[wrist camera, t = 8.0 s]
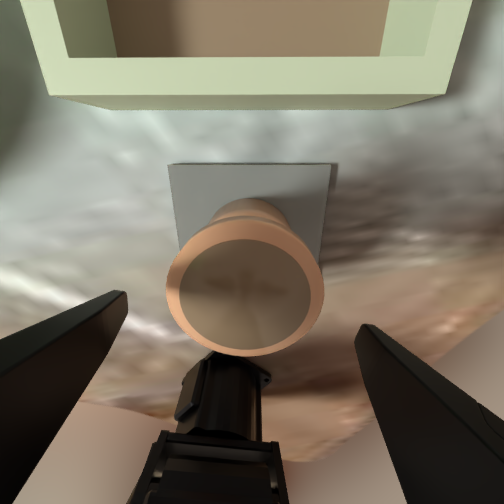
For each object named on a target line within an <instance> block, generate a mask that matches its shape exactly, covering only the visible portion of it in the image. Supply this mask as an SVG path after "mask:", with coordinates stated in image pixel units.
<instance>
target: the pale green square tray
mask: <svg viewBox="0 0 504 504" xmlns="http://www.w3.org/2000/svg"><path fill="white" fill-rule="evenodd" d="M20 2H21V5H22V9H23V12H24V15H25V18H26V22H27V25H28V28H29V31H30V35H31V38H32V41H33V44H34V48H35V51H36V54H37V57H38V61H39V64H40V67H41V70H42V73H43V77H44V80H45V83H46V86H47V90H48V93H49V95H51V96H55V97H59V98H63V99H67V100H71V101H75V102H80V103H84V104H88V105H92V106H96V107H100V108H104V109H109V110H386V109H391V108H395V107H398V106H402V105H406V104H410V103H413V102H417V101H421V100H425V99H428V98H432V97H436V96H440V95H443V94H445V93H446V89H447V86H448V83H449V79H450V76H451V72H452V69H453V65H454V62H455V59H456V55H457V52H458V48H459V45H460V41H461V38H462V35H463V31H464V28H465V24H466V21H467V18H468V14H469V11H470V7H471V4H472V0H20Z"/></svg>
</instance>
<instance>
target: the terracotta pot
mask: <svg viewBox="0 0 504 504" xmlns="http://www.w3.org/2000/svg"><path fill="white" fill-rule="evenodd" d="M166 296H167V302H168V305H169V308H170V311H171V313H172V315H173V317H174V319H175V320H176V322H177V323H178V325H179V326H180V327H181V328H182V329H183V331H184V332H185V333H186V334H188V335H189V336H190V337H191V338H192V339H194V340H195V341H197V342H198V343H200V344H201V345H203V346H205V347H207V348H209V349H212V350H214V351H217V352H220V353H224V354H229V355H235V356H259V355H265V354H270V353H273V352H276V351H279V350H282V349H284V348H286V347H288V346H290V345H292V344H293V343H295V342H296V341H298V340H299V339H300V338H302V337H303V336H304V335H305V334H306V333H307V332H308V331H309V330H310V329H311V328H312V326H313V325H314V323H315V322H316V320H317V318H318V316H319V314H320V312H321V309H322V306H323V301H324V283H323V278H322V274H321V271H320V269H319V267H318V265H317V263H316V261H315V259H314V257H313V255H312V253H311V252H310V250H309V248H308V247H307V245H306V244H305V243H304V241H303V240H302V239H301V238H300V237H299V236H298V235H297V234H296V233H294V232H293V231H292V230H291V228H290V225H289V223H288V221H287V219H286V218H285V216H284V215H283V214H282V213H281V211H280V210H279V209H277V208H276V207H275V206H273V205H272V204H270V203H268V202H266V201H263V200H259V199H254V198H244V199H238V200H234V201H232V202H229V203H227V204H226V205H224V206H222V207H221V208H220V209H219V210H218V211H217V212H216V213H215V214H214V215H213V217H212V218H211V220H210V221H209V223H208V225H206V226H205V227H203V228H201V229H200V230H199V231H197V232H196V233H195V234H194V235H193V236H192V237H191V238H190V239H189V240H188V241H187V242H186V244H185V245H184V247H183V248H182V249H181V251H180V252H179V254H178V255H177V256H176V258H175V259H174V261H173V263H172V265H171V267H170V270H169V273H168V276H167V282H166Z"/></svg>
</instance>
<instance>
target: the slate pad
mask: <svg viewBox="0 0 504 504" xmlns="http://www.w3.org/2000/svg"><path fill="white" fill-rule="evenodd" d="M168 172H169V179H170V185H171V192H172V199H173V206H174V213H175V220H176V227H177V234H178V241H179V248H180V251H181V249H182V248H183V247H184V245H185V244H186V242H187V241H188V240H189V239H190V238H191V237H192V236H193V235H194V234H195V233H196V232H197V231H199V230H200V229H201V228H203V227H205V226H206V225H208V223H209V221H210V220H211V218H212V217H213V215H214V214H215V213H216V212H217V211H218V210H219V209H220V208H221V207H222V206H224V205H226V204H227V203H229V202H232V201H234V200H238V199H244V198H254V199H259V200H263V201H266V202H268V203H270V204H272V205H273V206H275V207H276V208H277V209H279V210H280V211H281V213H282V214H283V215H284V216H285V218H286V219H287V221H288V223H289V225H290V228H291V230H292V231H293V232H294V233H296V234H297V235H298V236H299V237H300V238H301V239H302V240H303V241H304V243H305V244H306V245H307V247H308V248H309V250H310V252H311V253H312V255H313V257H314V259H315V261H316V263H317V265H318V261H319V254H320V246H321V239H322V231H323V224H324V216H325V209H326V202H327V194H328V187H329V179H330V172H331V165H329V164H170V165H168Z"/></svg>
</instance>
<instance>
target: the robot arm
mask: <svg viewBox="0 0 504 504" xmlns="http://www.w3.org/2000/svg"><path fill="white" fill-rule="evenodd" d="M127 314H128V301H127V293H126V292H125V291H119V290H113V291H110V292H108V293H106V294H103V295H101V296H99V297H97V298H94V299H92V300H90V301H87V302H85V303H83V304H80V305H78V306H76V307H74V308H71V309H69V310H67V311H64V312H62V313H60V314H57V315H55V316H53V317H51V318H48V319H46V320H44V321H41V322H39V323H37V324H34V325H32V326H30V327H28V328H25V329H23V330H21V331H18V332H16V333H14V334H11V335H9V336H7V337H4V338H2V339H0V504H12V503H13V502H14V500H15V499H16V497H17V495H18V494H19V492H20V491H21V489H22V487H23V486H24V484H25V483H26V481H27V480H28V478H29V477H30V475H31V473H32V472H33V470H34V469H35V467H36V466H37V464H38V462H39V461H40V459H41V458H42V456H43V455H44V453H45V452H46V450H47V448H48V447H49V445H50V444H51V442H52V441H53V439H54V437H55V436H56V434H57V433H58V431H59V430H60V428H61V426H62V425H63V423H64V422H65V420H66V418H67V417H68V415H69V414H70V412H71V411H72V409H73V408H74V406H75V404H76V403H77V401H78V400H79V398H80V397H81V395H82V393H83V392H84V390H85V389H86V387H87V386H88V384H89V382H90V381H91V379H92V378H93V376H94V375H95V373H96V371H97V370H98V368H99V367H100V365H101V364H102V362H103V360H104V359H105V357H106V356H107V354H108V352H109V350H110V348H111V346H112V344H113V342H114V340H115V338H116V336H117V334H118V332H119V330H120V328H121V326H122V324H123V322H124V320H125V318H126V316H127ZM354 344H355V349H356V353H357V357H358V361H359V365H360V369H361V373H362V377H363V380H364V384H365V387H366V390H367V393H368V396H369V398H370V401H371V404H372V407H373V409H374V412H375V415H376V418H377V420H378V423H379V426H380V429H381V432H382V435H383V437H384V440H385V443H386V446H387V448H388V451H389V454H390V457H391V460H392V462H393V465H394V468H395V471H396V473H397V476H398V479H399V482H400V485H401V488H402V490H403V493H404V496H405V499H406V502H407V504H504V421H503V420H502V419H501V418H499V417H498V416H496V415H495V414H494V413H492V412H491V411H490V410H488V409H487V408H485V407H484V406H483V405H482V404H480V403H477V401H476V400H475V399H473V398H472V397H471V396H469V395H468V394H467V393H465V392H464V391H463V390H461V389H459V388H458V387H457V386H456V385H454V384H453V383H451V382H450V381H449V380H448V379H446V378H445V377H444V376H442V375H441V374H440V373H438V372H437V371H436V370H434V369H433V368H431V367H430V366H429V365H427V364H426V363H425V362H423V361H422V360H421V359H419V358H418V357H417V356H415V355H414V354H413V353H411V352H410V351H409V350H407V349H406V348H404V347H403V346H402V345H400V344H399V343H398V342H396V341H395V340H394V339H392V338H391V337H390V336H388V335H387V334H386V333H384V332H383V331H382V330H380V329H379V328H377V327H376V326H375V325H371V324H362V325H361V327H360V329H359V331H358V333H357V335H356V337H355V341H354ZM271 381H272V378H271V375H270V374H269V373H267V372H266V371H264V370H262V369H261V368H259V367H257V366H256V365H254V364H253V363H251V362H249V361H248V360H246V359H244V358H243V357H241V356H235V355H229V354H224V353H220V352H217V351H214V350H213V351H212V352H211V353H210V354H209V355H208V356H207V357H206V358H205V359H202V360H200V361H199V362H198V363H197V364H196V365H195V366H194V367H193V368H192V369H191V370H190V371H189V372H188V373H187V374H186V376H185V377H184V378H183V381H182V385H183V387H182V391H181V394H180V397H179V401H178V404H177V408H176V411H175V414H174V418H175V420H176V421H178V425H177V428H176V432H175V433H172V432H169V431H167V430H161V433H160V435H159V438H158V440H157V442H155V443H153V444H152V447H151V450H150V452H149V455H148V458H147V461H146V464H145V467H144V469H143V472H142V474H141V476H140V478H139V480H138V482H137V484H136V486H135V488H134V489H133V491H132V493H131V495H130V497H129V499H128V501H127V503H126V504H289V500H288V493H287V488H286V482H285V476H284V471H283V465H282V459H281V453H280V448H279V442H276V441H271V442H262V413H261V389H262V388H264V387H265V386H266V385H268V384H269V383H270V382H271Z"/></svg>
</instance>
